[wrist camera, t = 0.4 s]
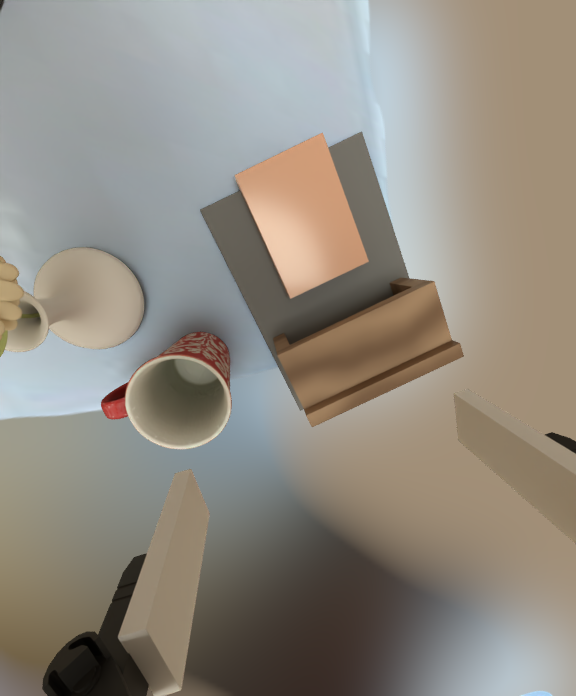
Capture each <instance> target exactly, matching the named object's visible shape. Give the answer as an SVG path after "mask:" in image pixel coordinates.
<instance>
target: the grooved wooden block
mask: <svg viewBox="0 0 576 696" xmlns="http://www.w3.org/2000/svg"><path fill="white" fill-rule="evenodd" d="M390 286H391V289H392V292H393V295H394V296H392V297H390V298H388V299H386V300H384V301H382V302H379V303H377V304H375V305H373V306H371V307H369V308H367V309H365V310H363V311H360V312H358V313H356V314H354V315H352V316H350V317H348V318H346V319H344V320H341V321H339V322H337V323H335V324H333V325H331V326H329V327H327V328H325V329H322V330H320V331H318V332H316V333H314V334H312V335H310V336H308V337H306V338H303V339H301V340H299V341H297V342H295V343H293V344H291V345H290V344H289V342H288V340H287V338H286V336H285V334H284V333H283V334H281V335H279V336H277V337H274V338H273V341H274V345H275V348H276V352H277V356H278V358H279V360H280V362H281V364H282V366H283V368H284V370H285V372H286V374H287V376H288V378H289V380H290V382H291V384H292V386H293V388H294V390H295V392H296V394H297V396H298V398H299V400H300V402H301V404H302V406H303V408H304V410H305V413H306V416H307V418H308V420H309V422H310V424H311V426H312V427H314V426H316V425H318V424H320V423H322V422H325V421H327V420H329V419H331V418H333V417H335V416H337V415H339V414H342V413H344V412H346V411H348V410H350V409H352V408H354V407H357V406H359V405H361V404H363V403H365V402H367V401H369V400H371V399H374V398H376V397H378V396H380V395H382V394H384V393H386V392H389V391H391V390H393V389H395V388H397V387H399V386H401V385H404V384H406V383H408V382H410V381H412V380H414V379H416V378H418V377H420V376H423V375H425V374H427V373H429V372H431V371H433V370H435V369H438V368H439V367H442V366H444V365H446V364H448V363H450V362H453V361H455V360H457V359H459V358H461V357H463V356H464V355H463V352H462V349H461V345H460V343H458V342H455V341H453V340H452V339H451V336H450V332H449V329H448V326H447V322H446V319H445V316H444V312H443V309H442V306H441V302H440V299H439V296H438V292H437V289H436V286H435V282H434V281H426V280H418V279H409V278H399V279H397V280H395V281H392V282H390Z"/></svg>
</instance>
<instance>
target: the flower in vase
mask: <svg viewBox="0 0 576 696" xmlns="http://www.w3.org/2000/svg"><path fill="white" fill-rule="evenodd" d="M18 275H19V271H18V269H17V268H16V267H15V266H13V265H11V264H8V263H6V261H5V260H4V259H3V257H1V256H0V357H1V355H2V354H3V352H4V350H8V351H13V352H25V351H29V350H32V349H34V348H36V347H38V346H39V345H40V344H41V343H42V342H43V341H44V340H45V338H46V336H47V334H48V330H49V329H50V330H51V331H52V332H53V333H54V334H56V335H57V336H58V337H60V338H61V339H63V340H64V341H66V342H68V343H71V344H73V345H76V346H79V347H83V348H90V349H106V348H111V347H114V346H117V345H119V344H121V343H123V342H125V341H126V340H128V339H129V338H130V337H131V336H132V335H133V334H134V333H135V332H136V331H137V329H138V327H139V326H140V324H141V321H142V318H143V314H144V298H143V293H142V290H141V287H140V285H139V282H138V280H137V279H136V277H135V276H134V274H133V273H132V272H131V270H130V269H129V268H128V267H127V266H126V265H125V264H124V263H123V262H121V261H120V260H119V259H117V258H116V257H114V256H112V255H111V254H108V253H106V252H104V251H101V250H98V249H93V248H85V247H79V248H71V249H67V250H64V251H61V252H59V253H57V254H55V255H54V256H53V257H51V258H50V259H49V260H48V261H47V262H46V263H45V264H44V265H43V266H42V267H41V269H40V270H39V272H38V274H37V276H36V279H35V283H34V297H33V296H32V295H30V294H29V293H27V292H25V291H23V289H22V288H21V287H20V286H19V285H17V284H18V282H17V280H16V278H17V277H18Z"/></svg>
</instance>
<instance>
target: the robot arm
mask: <svg viewBox="0 0 576 696" xmlns="http://www.w3.org/2000/svg"><path fill="white" fill-rule="evenodd" d="M1 3H2V0H0V5H1ZM454 402H455V412H456V422H457V433H458V440H459V442H460V443H462V444H463V445H464V446H465V447H466V448H467V449H468V450H470V451H471V452H472V453H473V454H474V455H475V456H476V457H477V458H479V459H480V460H481V461H482V462H483V463H484V464H485V465H487V466H488V467H489V468H490V469H491V470H492V471H493V472H494V473H496V474H497V475H498V476H499V477H500V478H501V479H502V480H504V481H505V482H506V483H507V484H508V485H509V486H510V487H511V488H513V489H514V490H515V491H516V492H517V493H518V494H519V495H521V496H522V497H523V498H524V499H525V500H526V501H527V502H529V503H530V504H531V505H532V506H533V507H534V508H535V509H537V510H538V511H539V512H540V513H541V514H542V515H543V516H544V517H545V518H547V519H548V520H549V521H550V522H551V523H552V524H553V525H555V526H556V527H557V528H558V529H559V530H560V531H561V532H563V533H564V534H565V535H566V536H567V537H568V538H569V539H570V540H572V541H573V542H574V543H575V544H576V441H574V440H572V439H570V438H568V437H564V436H561V435H559V434H555V433H548V434H545V435H544V434H542V433H540V432H539V431H537V430H535V429H534V428H532V427H530V426H529V425H527V424H526V423H524V422H522V421H521V420H519V419H517V418H516V417H514V416H512V415H510V414H509V413H507V412H505V411H504V410H502V409H501V408H499V407H497V406H496V405H494V404H492V403H491V402H489V401H487V400H486V399H484V398H482V397H481V396H479V395H477V394H476V393H474V392H472V391H471V390H469V389H467V390H464V391H460V392H457V393H454ZM208 520H209V511H208V509H207V506H206V504H205V501H204V499H203V497H202V494H201V492H200V489H199V487H198V484H197V482H196V480H195V477H194V475H193V472H192V470H191V469H189V470H185V471H182V472H178V473H175V475H174V478H173V481H172V484H171V487H170V489H169V492H168V495H167V498H166V501H165V504H164V507H163V510H162V513H161V515H160V518H159V521H158V524H157V527H156V530H155V532H154V535H153V538H152V541H151V544H150V547H149V549H148V552H147V554H143V555H140V556H137V557H134V558H133V560H132V561H131V563H130V564H129V565H128V567H127V568H126V569H125V571H124V572H123V574H122V577H121V579H120V582H119V584H118V587H117V588H118V589H117V590H116V592H115V594H114V597H113V599H112V603H111V604H110V607H109V609H108V611H107V614H106V616H105V619H104V621H103V624H102V626H101V629H100V631H99V634H98V635H97V634H96V633H95V632H85V633H82V634H80V635H78V636H76V637H75V638H74V639H72V640H71V641H69V642H68V643H67V644H66V645H65V646H64V647H63V648H62V649H61V650H60V651H59V652H58V653H57V654H56V656H55V657H54V659H53V660H52V662H51V663H50V665H49V666H48V669H47V671H46V673H45V676H44V678H43V690H44V692H45V693H46V694H47V695H48V696H146V695H147V690H148V687H149V688H150V690H151V692H152V693H153V695H154V696H164V695H168V694H171V693H174V692H177V691H180V690H181V688H182V682H183V676H184V670H185V663H186V657H187V651H188V645H189V638H190V632H191V626H192V620H193V614H194V607H195V601H196V595H197V589H198V582H199V576H200V570H201V564H202V557H203V551H204V545H205V539H206V533H207V527H208Z"/></svg>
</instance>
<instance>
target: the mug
mask: <svg viewBox="0 0 576 696" xmlns="http://www.w3.org/2000/svg"><path fill="white" fill-rule="evenodd" d="M101 407H102V410H103V412H104V413H105V415H106V416H107V418H109V419H121V418H124V417H127V416H129V419H130V420H131V422H132V424H133V425H134V427H135V428H136V429H137V430H138V432H139V433H141V434H142V435H143V436H144V437H145V438H147V439H148V440H149V441H151V442H153V443H155V444H157V445H160V446H163V447H166V448H172V449H190V448H194V447H198V446H201V445H203V444H205V443H207V442H209V441H211V440H212V439H214V438H215V437H216V436H217V435H218V434H219V433H220V432H221V431H222V430H223V429H224V427H225V426H226V424H227V422H228V420H229V417H230V413H231V407H232V400H231V393H230V355H229V351H228V349H227V347H226V345H225V344H224V342H223V341H222V340H221V339H219V338H218V337H217V336H215V335H213V334H210V333H206V332H194V333H190V334H188V335H186V336H184V337H182V338H181V339H180V340H178V341H177V342H176V343H175V344H173V345H172V346H171V347H169V348H168V349H167V350H166V351H164V352H163V353H162V354H160V355H159V356H157V357H156V358H153V359H151V360H149V361H148V362H146V363H144V364H143V365H142V366H140V367H139V368H138V369H137V370H136V372H135V373H134V374H133V375H132V377H131V379H130V380H129V382H128V383H126V384H124V385H122V386H120V387H119V388H117V389H115V390H114V391H112V392H111V393H109V394H108V395H107V396H106V397H105V398H104V399H103V400H102V402H101Z"/></svg>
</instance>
